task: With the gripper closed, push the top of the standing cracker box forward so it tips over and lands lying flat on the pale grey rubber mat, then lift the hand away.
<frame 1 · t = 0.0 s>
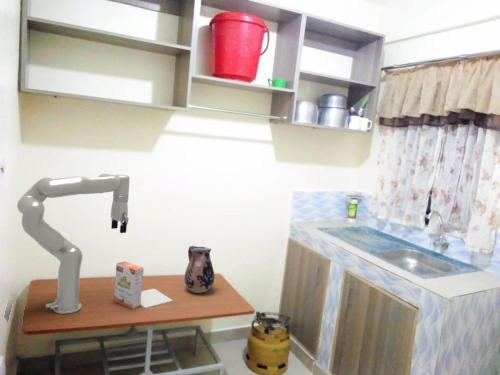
hand: (118, 230, 193), 37 cm above the table, tool pointing down, fingers open, 9 cm apart
mat: (149, 298, 200), on the table
cracker box: (126, 304, 190), on the table
ceramic pitcher: (196, 289, 219), on the table
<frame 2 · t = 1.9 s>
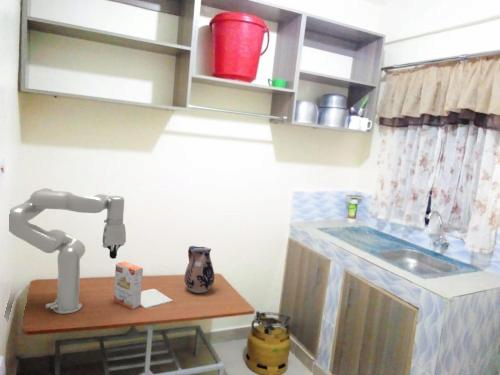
hand: (113, 257, 181), 26 cm above the table, tool pointing down, fingers closed
nothing on the table moved.
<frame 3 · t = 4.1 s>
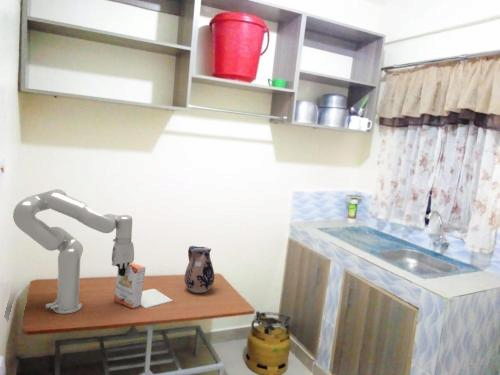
hand: (121, 275, 186), 16 cm above the table, tool pointing down, fingers closed
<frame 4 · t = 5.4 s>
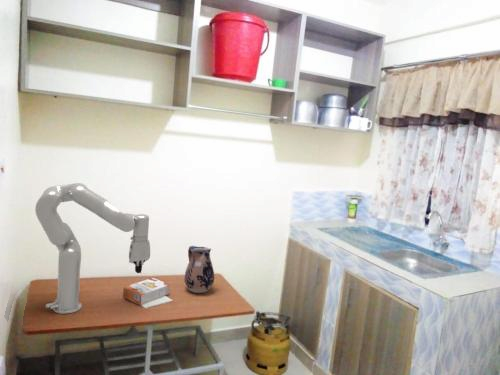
hand: (138, 272, 192), 16 cm above the table, tool pointing down, fingers closed
cracker box: (131, 295, 192), point 4 cm above the table, touching mat
everything else where it was.
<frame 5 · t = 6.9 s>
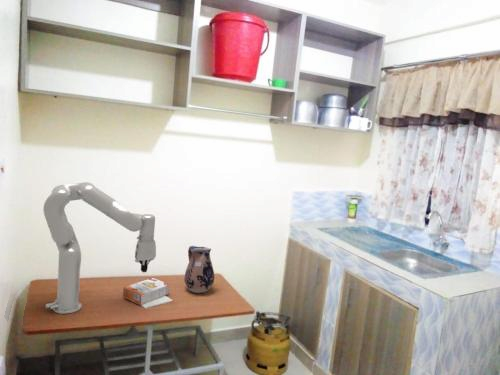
hand: (143, 271, 195), 16 cm above the table, tool pointing down, fingers closed
nothing on the table moved.
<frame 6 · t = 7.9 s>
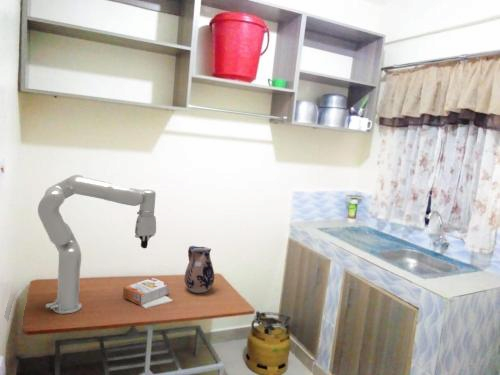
hand: (143, 247, 193), 29 cm above the table, tool pointing down, fingers closed
nothing on the table moved.
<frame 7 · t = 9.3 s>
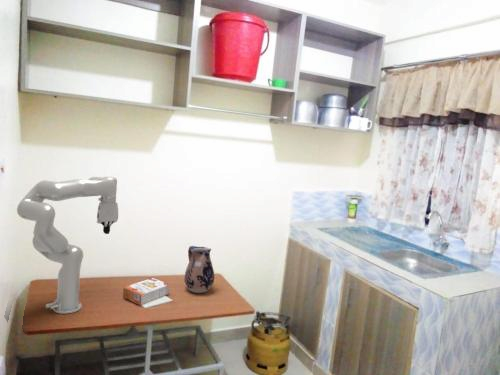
hand: (106, 233, 199), 33 cm above the table, tool pointing down, fingers closed
nothing on the table moved.
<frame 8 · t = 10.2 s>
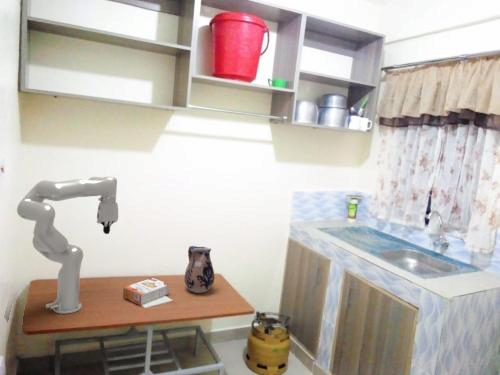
hand: (106, 233, 199), 33 cm above the table, tool pointing down, fingers closed
nothing on the table moved.
at the end: cracker box tilted 91°; cracker box touching mat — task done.
